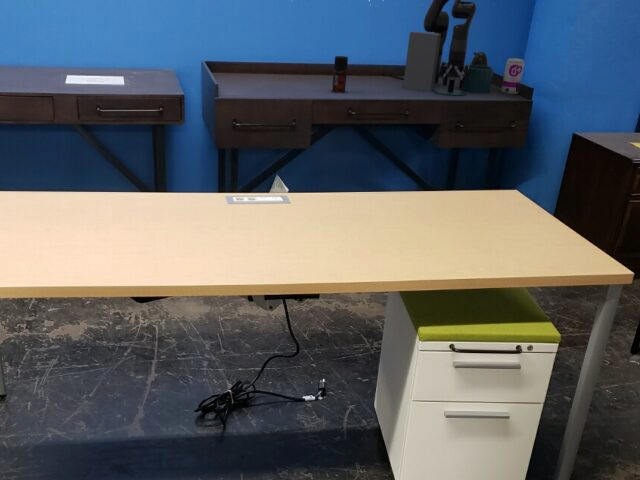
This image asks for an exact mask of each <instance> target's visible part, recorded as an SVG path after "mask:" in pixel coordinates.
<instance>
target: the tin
mask: <svg viewBox="0 0 640 480" xmlns="http://www.w3.org/2000/svg"><path fill="white" fill-rule="evenodd" d="M469 65H470V64H469ZM462 70H463V72H464V74H465V70H464V69H462ZM494 70H495V68H494V67H492V66H489V65H488V66H482V65H470V74H469V78H468V79H465V81H464V86H463V88H461V89H460V90H461V91H464V92H466V93H472V94H473V93H474V94H488V93H490V91H491V86H492V80H493V75H494Z"/></svg>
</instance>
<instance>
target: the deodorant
mask: <svg viewBox="0 0 640 480" xmlns="http://www.w3.org/2000/svg"><path fill="white" fill-rule="evenodd" d="M348 62H349V57H348V56H343V55H336V56H334V64H333V78H332V89H331V90H332V92H333V93H335V94H344V93H346V84H347V74H348V64H349V63H348Z"/></svg>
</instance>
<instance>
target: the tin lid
mask: <svg viewBox="0 0 640 480" xmlns="http://www.w3.org/2000/svg"><path fill="white" fill-rule="evenodd" d="M448 79H449V80H448V87H447V88H437V89H434V93H436V94H437V95H441V96H447V97H462V96H466V95H467V92H466V91H462V90H461V89H455V84H456V79H455V78H448Z"/></svg>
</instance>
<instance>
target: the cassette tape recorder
mask: <svg viewBox="0 0 640 480" xmlns="http://www.w3.org/2000/svg"><path fill="white" fill-rule="evenodd" d="M440 40H441V34H436V33H434V32H426V31H425V32H423V31H415V30H414V31H411V32H409V36H408V44H407V53H406V60H405V68H404V75H403V78H404V80H403V85H402V88H403V89H410V90H417V91H425V92H432V91H435V85H434V81H435V74H436V67H437V61H438V54H439V47H440Z"/></svg>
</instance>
